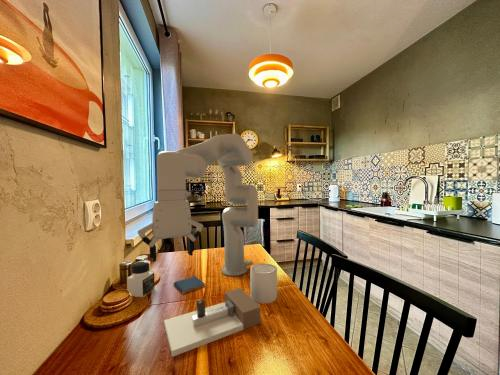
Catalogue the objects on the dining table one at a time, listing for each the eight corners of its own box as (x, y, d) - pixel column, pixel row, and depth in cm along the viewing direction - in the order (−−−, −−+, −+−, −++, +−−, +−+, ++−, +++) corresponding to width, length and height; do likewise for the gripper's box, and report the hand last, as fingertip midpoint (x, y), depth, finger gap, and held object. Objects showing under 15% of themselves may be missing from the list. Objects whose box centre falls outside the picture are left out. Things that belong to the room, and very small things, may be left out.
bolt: (193, 327, 62) (193, 306, 62) (191, 322, 65) (191, 302, 64) (231, 314, 68) (231, 295, 68) (228, 310, 70) (228, 292, 70)
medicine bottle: (143, 298, 82) (142, 266, 82) (126, 296, 84) (126, 265, 83) (155, 288, 89) (154, 260, 89) (139, 287, 91) (139, 259, 90)
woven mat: (206, 287, 91) (206, 282, 91) (181, 296, 84) (181, 290, 84) (195, 279, 99) (195, 274, 99) (172, 286, 92) (172, 281, 92)
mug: (244, 288, 89) (243, 262, 89) (266, 284, 92) (266, 259, 92) (256, 305, 76) (256, 275, 76) (282, 300, 80) (281, 271, 79)
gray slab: (172, 356, 54) (171, 337, 54) (164, 325, 66) (163, 308, 66) (260, 323, 67) (260, 307, 67) (240, 301, 79) (239, 288, 79)
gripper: (198, 194, 68) (199, 249, 68) (136, 196, 60) (137, 258, 60) (206, 195, 61) (206, 255, 62) (137, 198, 53) (138, 267, 53)
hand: (172, 257), depth 61 cm, fingers open, 9 cm apart
